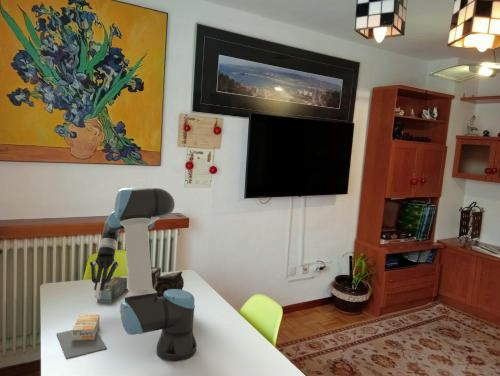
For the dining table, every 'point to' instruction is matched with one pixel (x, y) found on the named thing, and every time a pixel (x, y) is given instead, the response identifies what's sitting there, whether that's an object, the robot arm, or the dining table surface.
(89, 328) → the supplement box
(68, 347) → the mat
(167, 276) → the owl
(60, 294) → the dining table surface
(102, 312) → the dining table surface
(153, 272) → the coffee box
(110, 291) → the beverage carton
